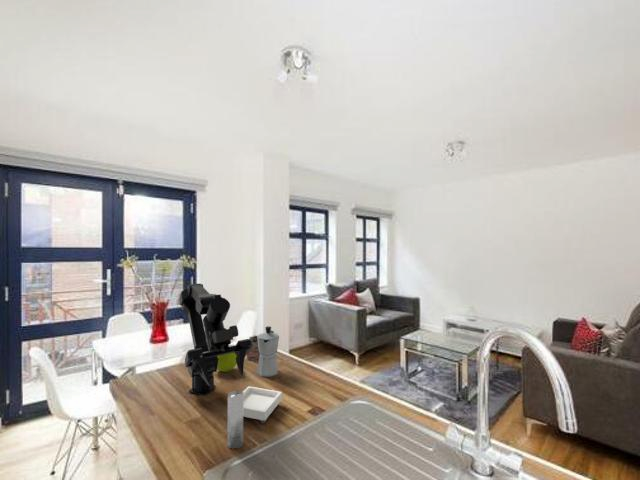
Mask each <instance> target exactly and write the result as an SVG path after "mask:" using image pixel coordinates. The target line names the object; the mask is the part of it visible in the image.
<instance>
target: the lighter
mask: <svg viewBox="0 0 640 480" xmlns="http://www.w3.org/2000/svg"><path fill="white" fill-rule="evenodd" d="M257 336H258V335H257V334H254V335H252V336H248V337H249V338H248V339H250V340H251V341H252V344H253V347H252V348H251V350H250V352H249V354H247V355H246V357H245V358H246V360H247V361H255V360H259V357H260V352H259V348H258V340H257Z"/></svg>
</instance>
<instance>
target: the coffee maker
mask: <svg viewBox="0 0 640 480" xmlns="http://www.w3.org/2000/svg"><path fill="white" fill-rule="evenodd" d="M264 329H265V332H263V333H259V334H257V335H256V336H257V340H258V348H259V352H260V357H259V359H258V363H257V369H256V375H258V376H260V377H261V378H262V377H264V378H265V377H267V378H270V377H273V376H277V375H278V374H279V366H278V358H277V352H278V348H279V341H280V335H279V334H278V333H276V332H275V331H274V330H272V327H271V326H265V328H264Z"/></svg>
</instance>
